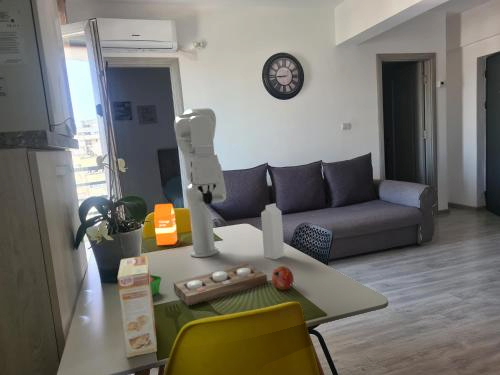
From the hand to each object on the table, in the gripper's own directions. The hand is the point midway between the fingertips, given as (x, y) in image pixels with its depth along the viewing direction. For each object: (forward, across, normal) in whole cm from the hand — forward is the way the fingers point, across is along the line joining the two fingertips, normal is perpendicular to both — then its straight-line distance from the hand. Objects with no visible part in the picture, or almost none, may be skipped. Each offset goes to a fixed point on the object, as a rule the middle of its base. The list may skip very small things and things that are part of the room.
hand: (208, 203), depth 127 cm
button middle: (+25, -2, -10) cm, 27 cm away
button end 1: (+26, -11, -10) cm, 30 cm away
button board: (+27, -2, -10) cm, 29 cm away
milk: (+27, +29, +5) cm, 40 cm away
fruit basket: (+27, -26, 0) cm, 38 cm away
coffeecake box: (+27, -32, -28) cm, 51 cm away
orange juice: (+27, 0, +61) cm, 67 cm away
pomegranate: (+27, +14, -24) cm, 39 cm away
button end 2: (+26, +7, -10) cm, 28 cm away
